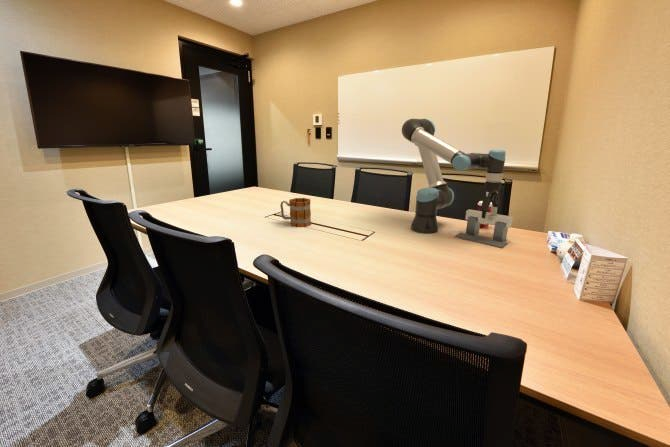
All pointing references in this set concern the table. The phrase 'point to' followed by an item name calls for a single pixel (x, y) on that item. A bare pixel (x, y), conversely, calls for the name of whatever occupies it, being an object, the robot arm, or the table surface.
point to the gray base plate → (481, 240)
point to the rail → (490, 218)
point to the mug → (298, 212)
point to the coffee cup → (487, 211)
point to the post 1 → (472, 226)
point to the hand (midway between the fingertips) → (488, 221)
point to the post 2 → (500, 232)
